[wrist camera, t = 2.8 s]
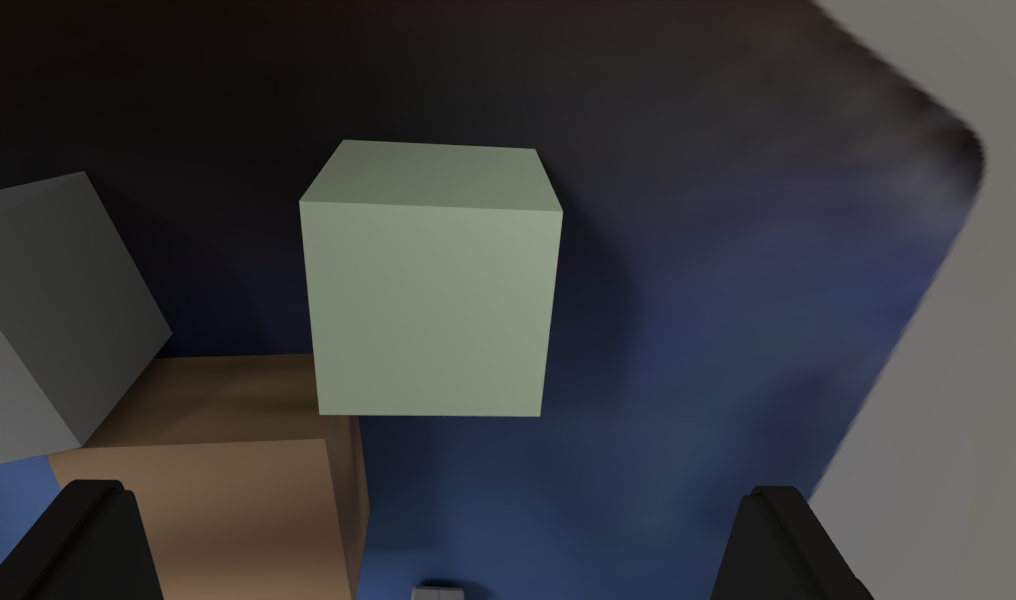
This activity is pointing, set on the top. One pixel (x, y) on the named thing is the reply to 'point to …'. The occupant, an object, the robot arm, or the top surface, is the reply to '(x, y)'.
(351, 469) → the walnut base
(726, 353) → the top surface
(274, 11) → the top surface
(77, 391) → the grey cube
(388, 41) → the top surface
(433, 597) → the toy blaster
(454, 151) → the sage cube
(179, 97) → the top surface
